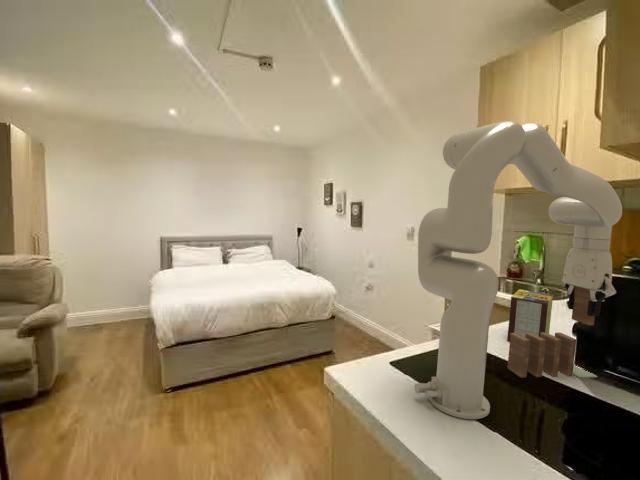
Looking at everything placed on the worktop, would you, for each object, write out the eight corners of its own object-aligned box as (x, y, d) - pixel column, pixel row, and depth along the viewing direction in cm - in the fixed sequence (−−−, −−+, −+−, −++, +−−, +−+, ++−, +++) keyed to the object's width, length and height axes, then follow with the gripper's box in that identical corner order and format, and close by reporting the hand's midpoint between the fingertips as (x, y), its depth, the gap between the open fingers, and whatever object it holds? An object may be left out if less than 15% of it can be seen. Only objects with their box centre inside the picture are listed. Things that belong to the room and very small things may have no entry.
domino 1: (520, 377, 85) (524, 340, 84) (507, 368, 90) (510, 332, 89) (526, 377, 85) (530, 340, 84) (512, 368, 90) (516, 332, 89)
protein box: (548, 337, 115) (553, 294, 113) (543, 351, 103) (548, 302, 102) (514, 329, 121) (518, 288, 120) (506, 341, 110) (510, 296, 108)
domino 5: (588, 325, 86) (592, 288, 85) (571, 319, 91) (575, 283, 90) (593, 325, 86) (598, 288, 86) (576, 319, 91) (580, 283, 90)
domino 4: (567, 376, 87) (571, 339, 86) (551, 367, 92) (555, 332, 91) (572, 376, 87) (576, 339, 86) (556, 367, 92) (560, 332, 91)
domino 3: (551, 376, 86) (555, 339, 85) (536, 367, 91) (540, 332, 90) (557, 376, 86) (561, 339, 85) (541, 367, 91) (545, 332, 90)
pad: (578, 377, 86) (578, 376, 86) (556, 365, 93) (556, 364, 93) (597, 377, 87) (597, 376, 87) (573, 364, 94) (573, 363, 94)
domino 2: (536, 377, 85) (540, 340, 85) (522, 368, 90) (525, 332, 90) (541, 377, 86) (546, 339, 85) (527, 367, 91) (531, 332, 90)
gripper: (551, 241, 95) (545, 303, 96) (611, 249, 78) (602, 323, 80) (574, 242, 96) (567, 303, 97) (638, 249, 79) (628, 323, 81)
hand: (583, 311), depth 89 cm, fingers closed on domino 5, 4 cm apart
